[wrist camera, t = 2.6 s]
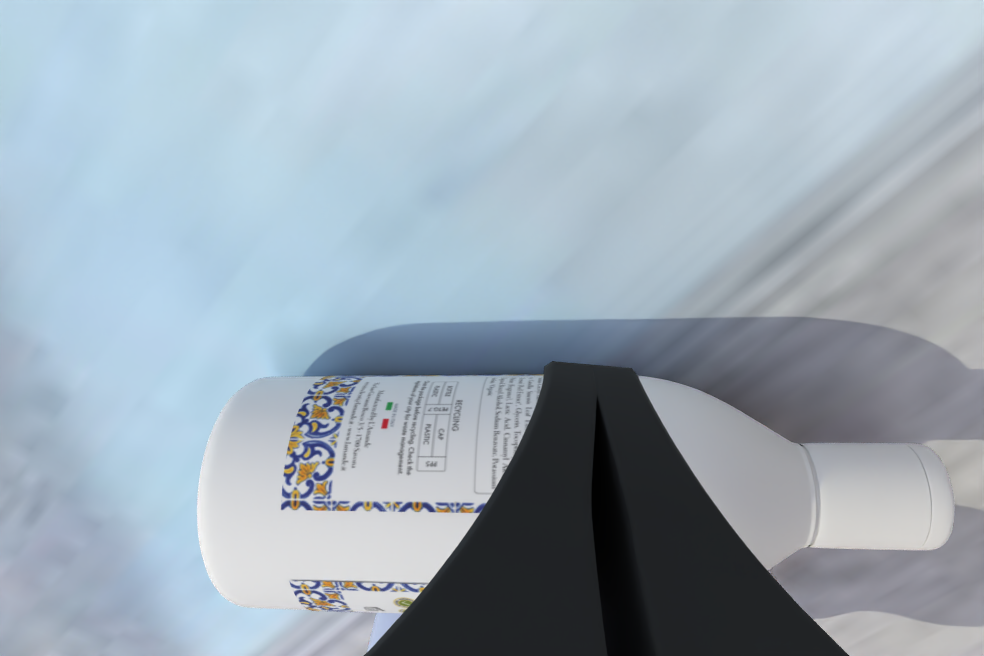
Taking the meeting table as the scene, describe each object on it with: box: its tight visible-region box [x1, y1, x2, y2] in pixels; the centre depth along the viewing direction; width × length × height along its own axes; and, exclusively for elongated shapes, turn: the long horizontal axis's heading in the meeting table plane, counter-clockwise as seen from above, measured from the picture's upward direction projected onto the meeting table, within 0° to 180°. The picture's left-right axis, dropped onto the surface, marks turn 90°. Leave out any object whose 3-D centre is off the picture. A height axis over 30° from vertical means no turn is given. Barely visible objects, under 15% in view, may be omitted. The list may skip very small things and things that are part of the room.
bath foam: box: [197, 374, 955, 614], centre depth 21 cm, size 7×7×20 cm
